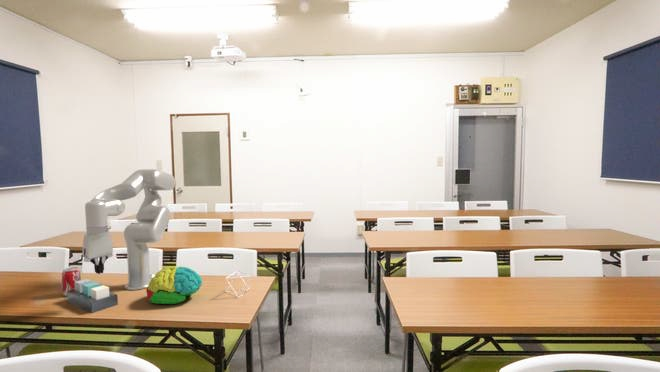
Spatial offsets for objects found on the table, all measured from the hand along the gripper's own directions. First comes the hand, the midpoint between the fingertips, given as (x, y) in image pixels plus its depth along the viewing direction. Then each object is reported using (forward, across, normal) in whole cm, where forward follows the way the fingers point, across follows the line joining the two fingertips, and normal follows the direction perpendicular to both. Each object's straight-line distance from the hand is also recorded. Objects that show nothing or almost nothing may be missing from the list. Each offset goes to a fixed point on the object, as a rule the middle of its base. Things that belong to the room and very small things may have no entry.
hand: (99, 272), depth 147 cm
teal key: (+11, 0, -7) cm, 13 cm away
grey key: (+11, 0, -15) cm, 19 cm away
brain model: (+15, -22, +20) cm, 33 cm away
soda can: (+15, 0, -27) cm, 31 cm away
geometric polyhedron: (+15, -42, +39) cm, 59 cm away
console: (+15, 0, -7) cm, 16 cm away
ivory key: (+12, 0, 0) cm, 12 cm away
